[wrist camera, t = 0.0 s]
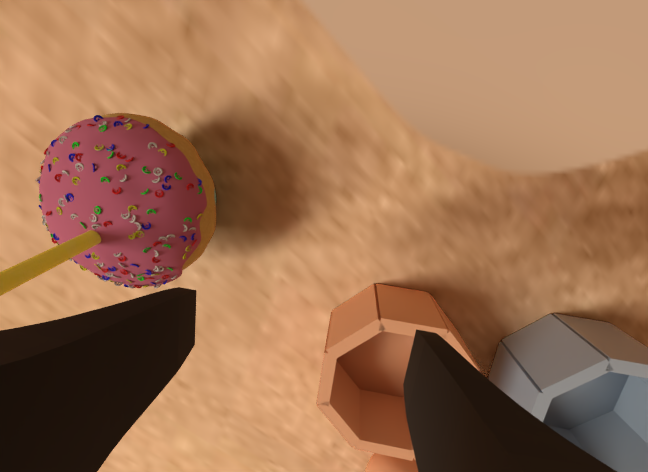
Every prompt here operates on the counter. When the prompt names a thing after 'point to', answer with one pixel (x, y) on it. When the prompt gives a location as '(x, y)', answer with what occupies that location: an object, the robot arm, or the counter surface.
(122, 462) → the counter surface
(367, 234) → the counter surface
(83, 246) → the cupcake
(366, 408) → the terracotta octagonal bowl
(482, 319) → the counter surface
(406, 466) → the terracotta ball
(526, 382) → the slate cup
